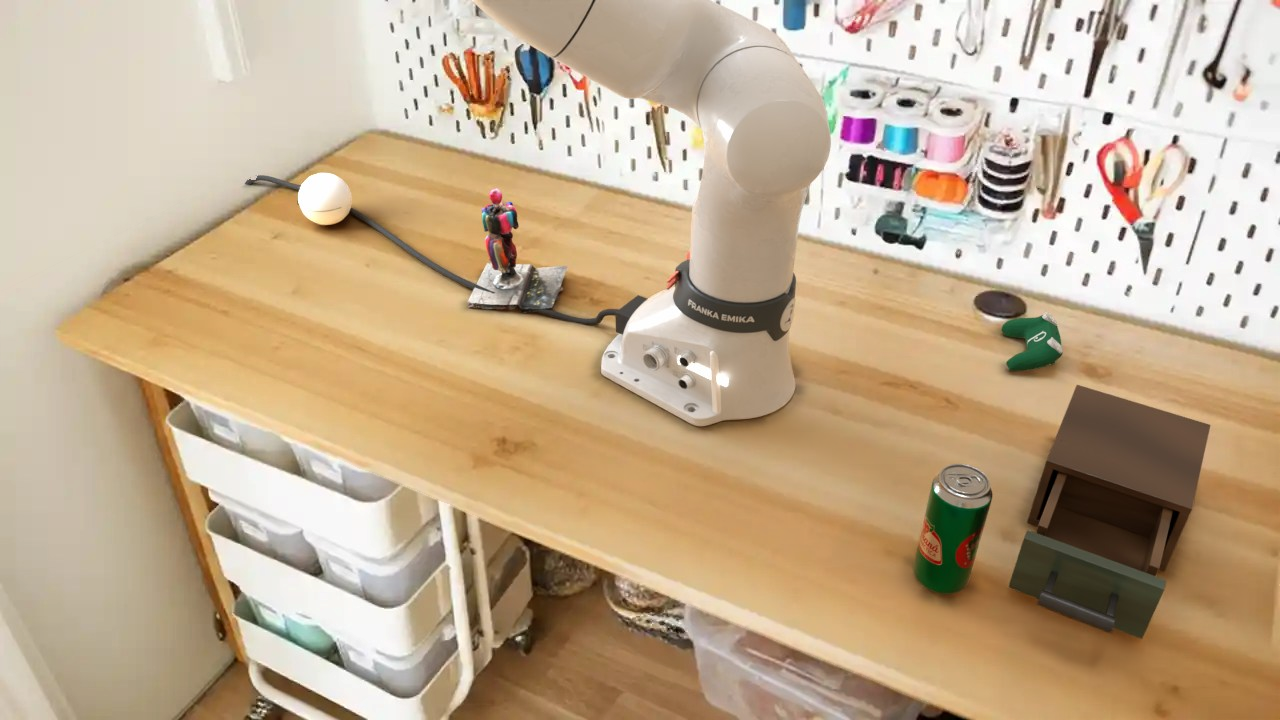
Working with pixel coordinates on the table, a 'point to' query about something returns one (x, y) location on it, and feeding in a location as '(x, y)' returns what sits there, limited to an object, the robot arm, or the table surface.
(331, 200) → the white egg shape
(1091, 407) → the cabinet
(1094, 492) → the drawer
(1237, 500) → the table surface
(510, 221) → the statue
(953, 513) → the soda can
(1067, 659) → the table surface
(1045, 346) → the gaming controller
